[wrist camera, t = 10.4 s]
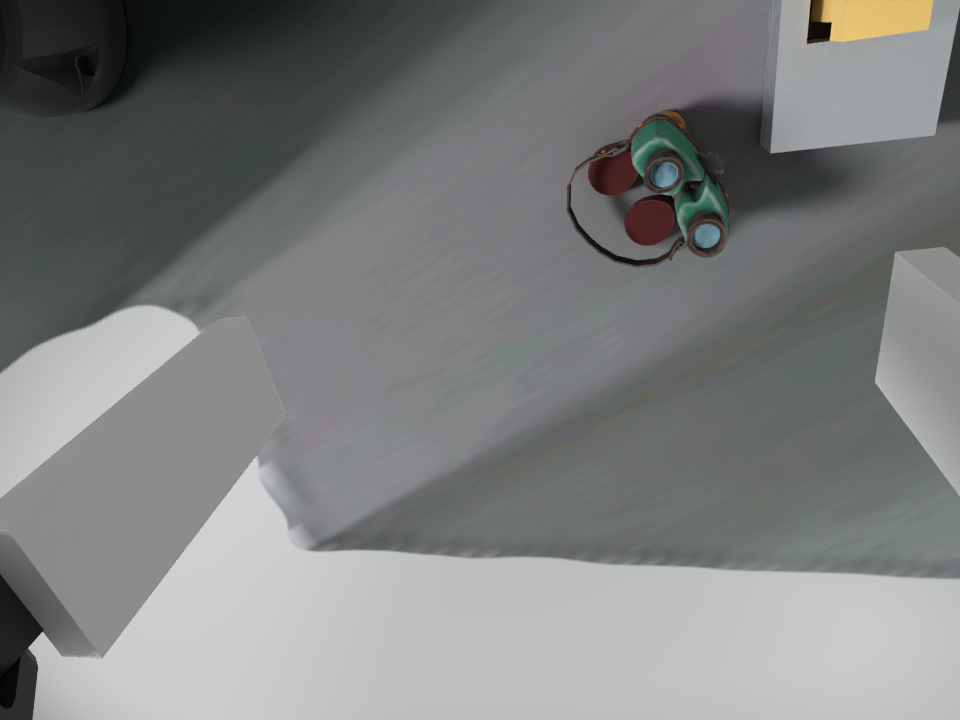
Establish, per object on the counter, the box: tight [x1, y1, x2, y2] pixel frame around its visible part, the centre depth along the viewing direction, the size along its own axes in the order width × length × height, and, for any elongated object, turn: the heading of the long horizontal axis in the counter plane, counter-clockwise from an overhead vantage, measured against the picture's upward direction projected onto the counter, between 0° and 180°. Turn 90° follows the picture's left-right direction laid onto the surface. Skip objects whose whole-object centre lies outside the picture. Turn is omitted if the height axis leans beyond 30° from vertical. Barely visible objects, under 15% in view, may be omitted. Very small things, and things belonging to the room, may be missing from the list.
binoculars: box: [567, 111, 729, 267], centre depth 39 cm, size 9×11×10 cm
